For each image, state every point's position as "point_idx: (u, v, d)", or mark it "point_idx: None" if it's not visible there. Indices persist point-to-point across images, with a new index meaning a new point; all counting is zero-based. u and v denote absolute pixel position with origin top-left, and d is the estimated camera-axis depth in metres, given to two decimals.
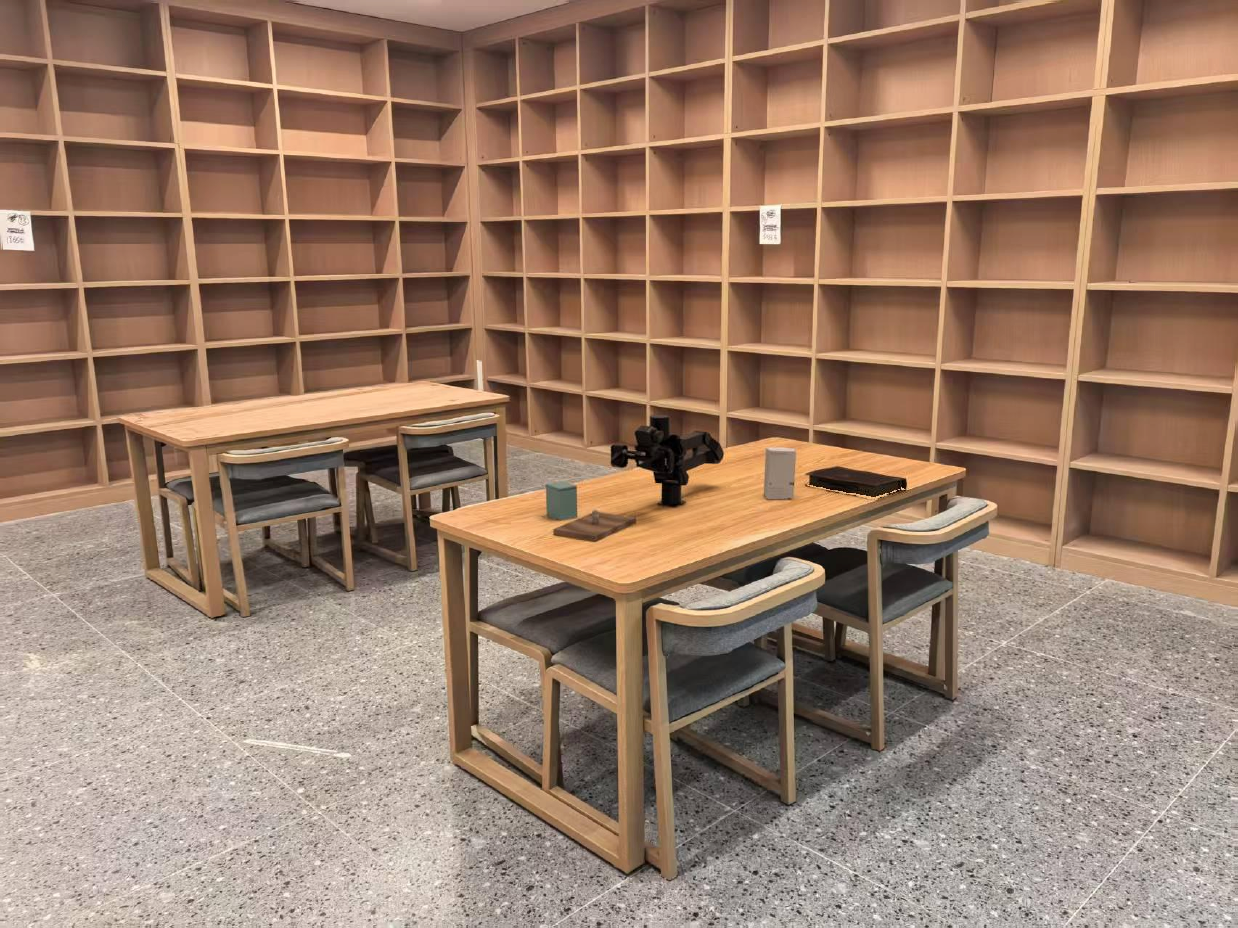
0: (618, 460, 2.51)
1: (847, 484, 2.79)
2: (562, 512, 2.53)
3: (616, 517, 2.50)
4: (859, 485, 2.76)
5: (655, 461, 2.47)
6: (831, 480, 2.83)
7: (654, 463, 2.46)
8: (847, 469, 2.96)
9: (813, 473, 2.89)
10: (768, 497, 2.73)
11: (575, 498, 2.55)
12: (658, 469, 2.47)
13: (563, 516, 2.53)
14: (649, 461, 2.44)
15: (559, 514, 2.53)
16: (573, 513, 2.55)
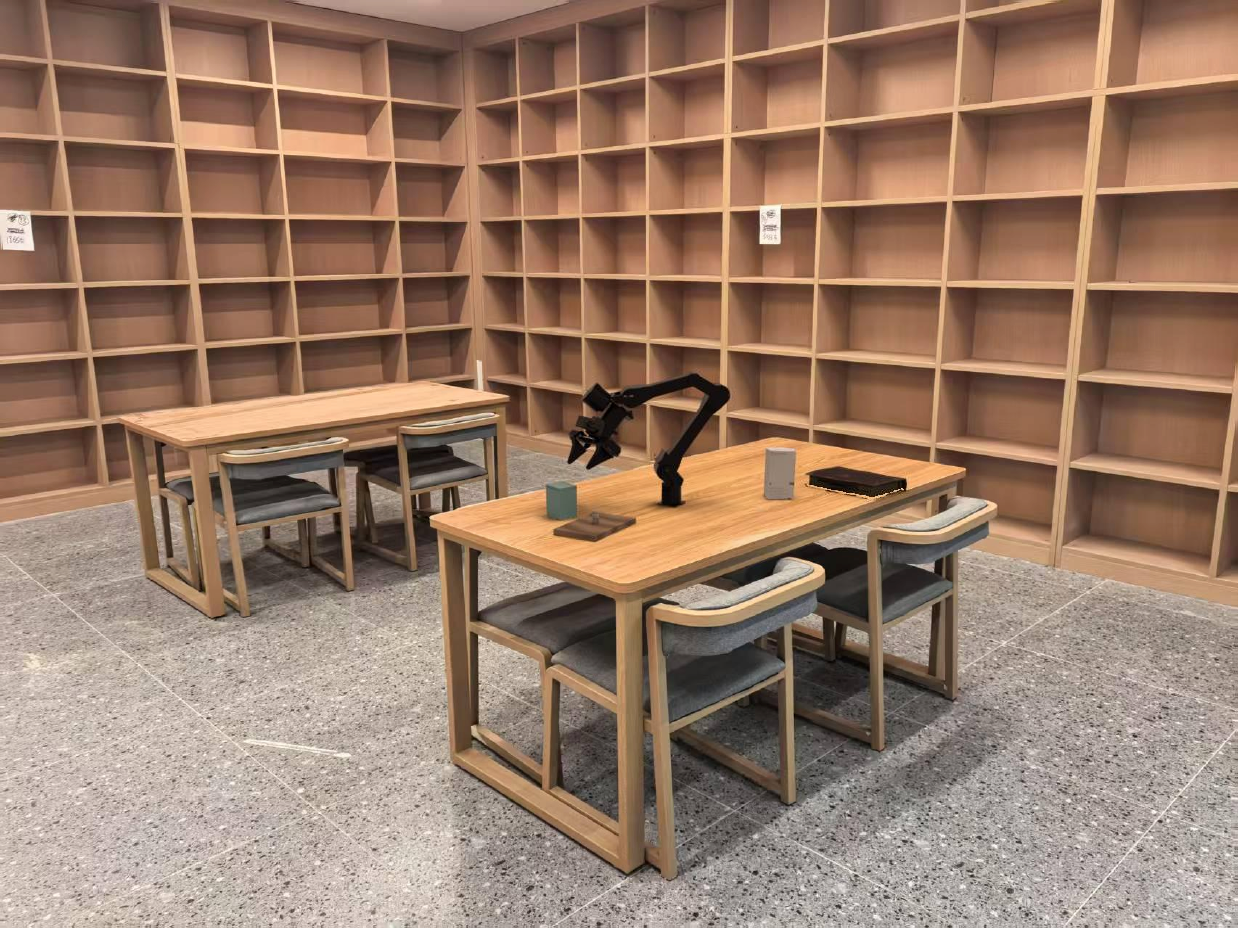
0: (576, 453, 2.62)
1: (846, 484, 2.79)
2: (562, 512, 2.53)
3: (616, 517, 2.50)
4: (858, 485, 2.76)
5: (600, 452, 2.54)
6: (831, 480, 2.84)
7: (600, 455, 2.55)
8: (848, 469, 2.96)
9: (813, 473, 2.89)
10: (768, 497, 2.73)
11: (575, 498, 2.55)
12: (607, 457, 2.55)
13: (563, 516, 2.53)
14: (593, 459, 2.54)
15: (559, 514, 2.53)
16: (573, 513, 2.55)
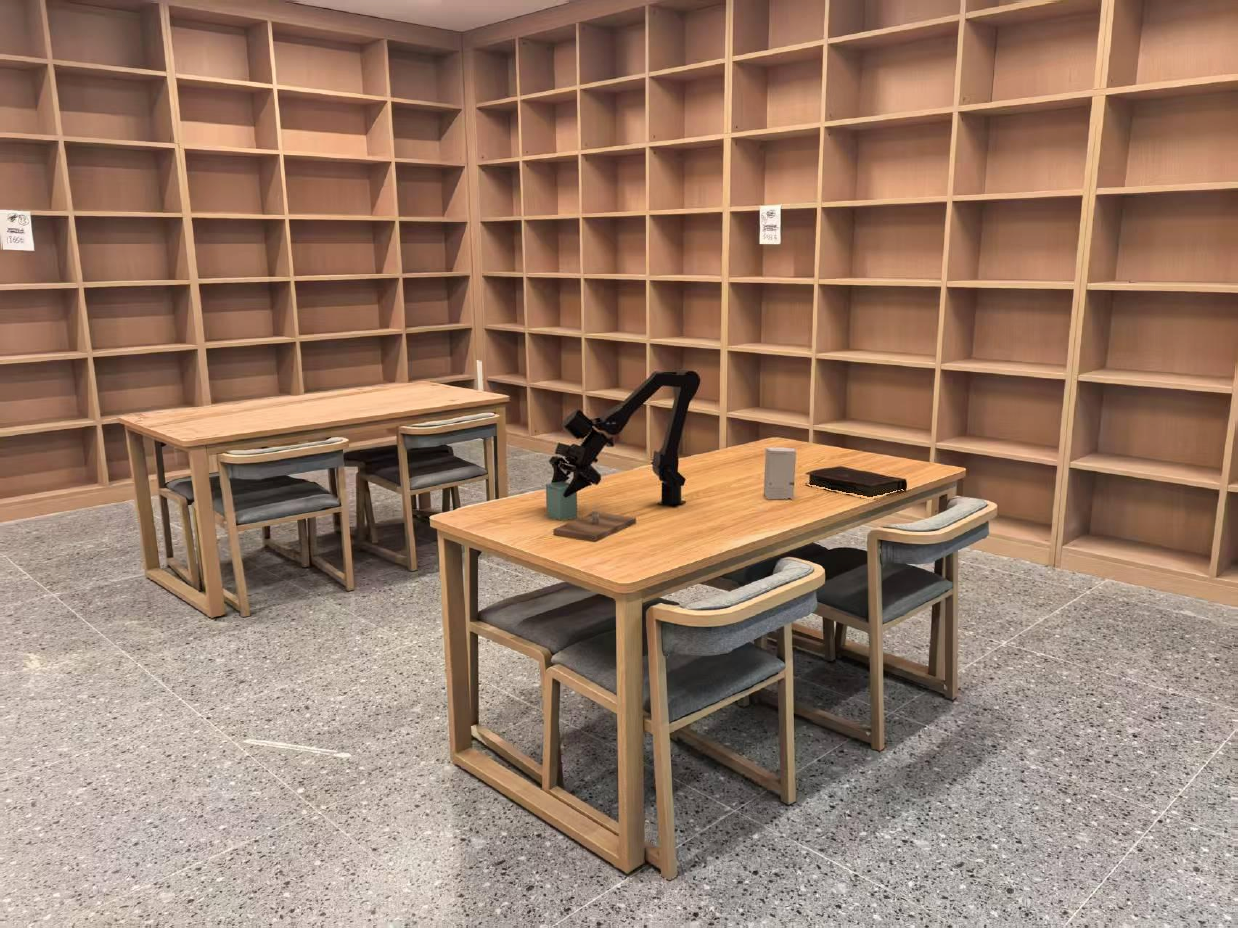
0: (557, 481, 2.59)
1: (845, 484, 2.80)
2: (562, 512, 2.53)
3: (616, 517, 2.50)
4: (856, 485, 2.76)
5: (578, 480, 2.53)
6: (830, 480, 2.84)
7: (578, 482, 2.53)
8: (849, 469, 2.96)
9: (813, 472, 2.90)
10: (768, 497, 2.73)
11: (575, 498, 2.55)
12: (585, 484, 2.53)
13: (563, 516, 2.53)
14: (570, 487, 2.52)
15: (559, 514, 2.53)
16: (573, 513, 2.55)
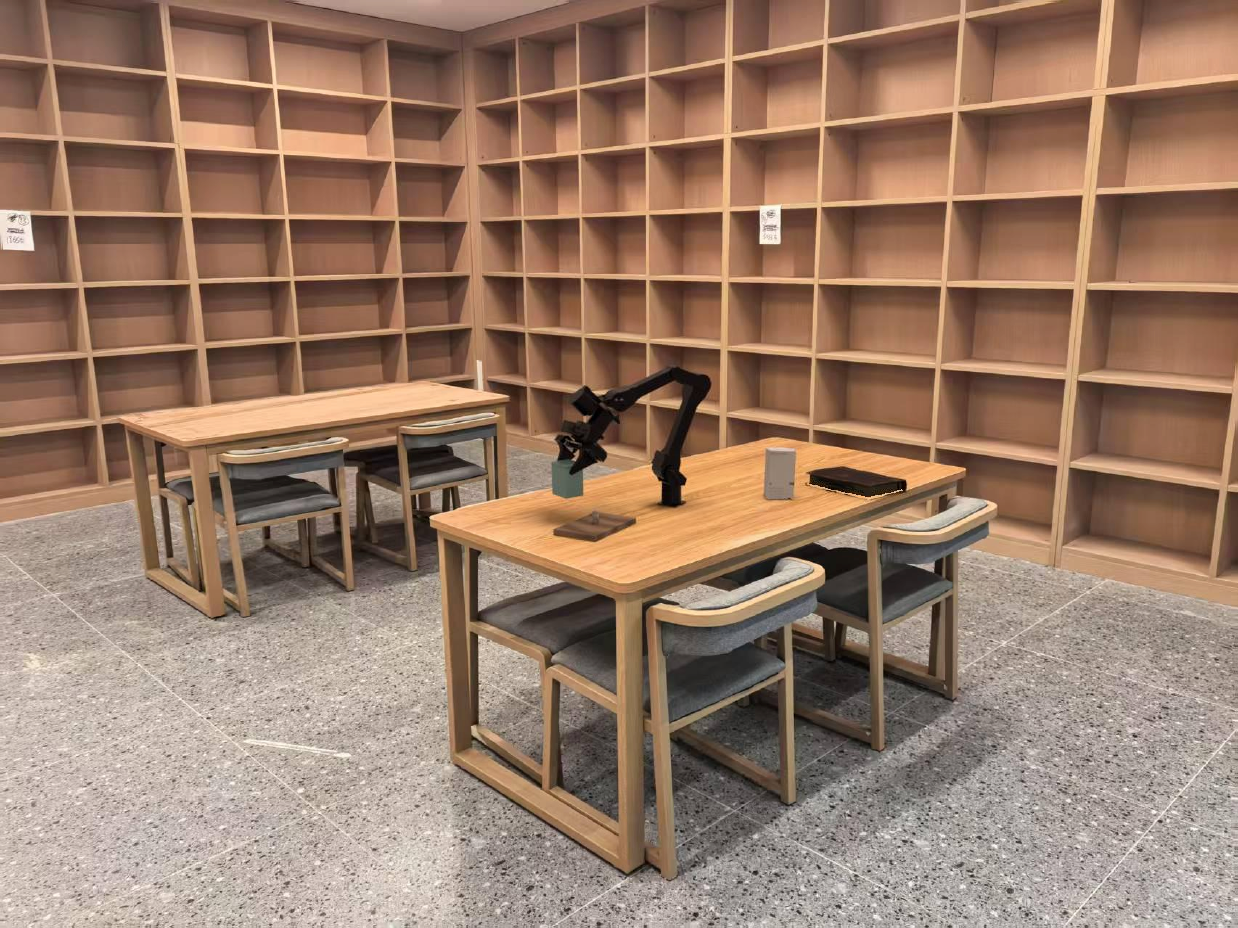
0: (563, 459, 2.55)
1: (844, 484, 2.80)
2: (568, 489, 2.49)
3: (616, 517, 2.50)
4: (855, 485, 2.76)
5: (584, 457, 2.49)
6: (829, 479, 2.84)
7: (584, 460, 2.49)
8: (851, 469, 2.96)
9: (813, 472, 2.90)
10: (768, 497, 2.73)
11: (581, 475, 2.51)
12: (591, 462, 2.50)
13: (569, 494, 2.50)
14: (576, 464, 2.48)
15: (565, 492, 2.49)
16: (579, 491, 2.51)
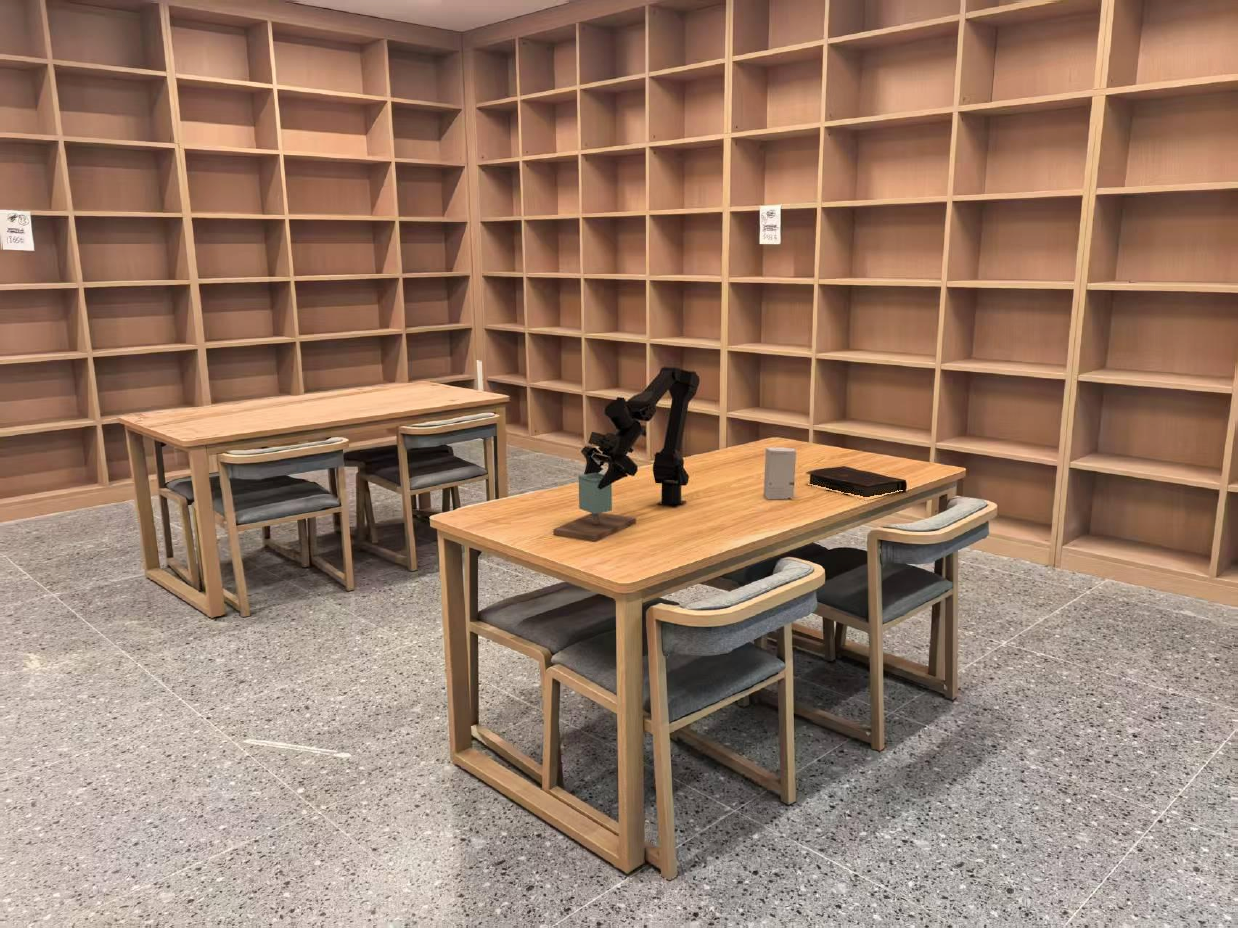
0: (591, 472, 2.45)
1: (843, 484, 2.80)
2: (596, 504, 2.39)
3: (616, 517, 2.50)
4: (853, 485, 2.76)
5: (613, 471, 2.39)
6: (829, 479, 2.85)
7: (613, 473, 2.39)
8: (852, 469, 2.96)
9: (813, 472, 2.91)
10: (768, 497, 2.73)
11: (610, 490, 2.41)
12: (620, 475, 2.40)
13: (597, 509, 2.40)
14: (605, 478, 2.38)
15: (593, 507, 2.39)
16: (608, 506, 2.42)
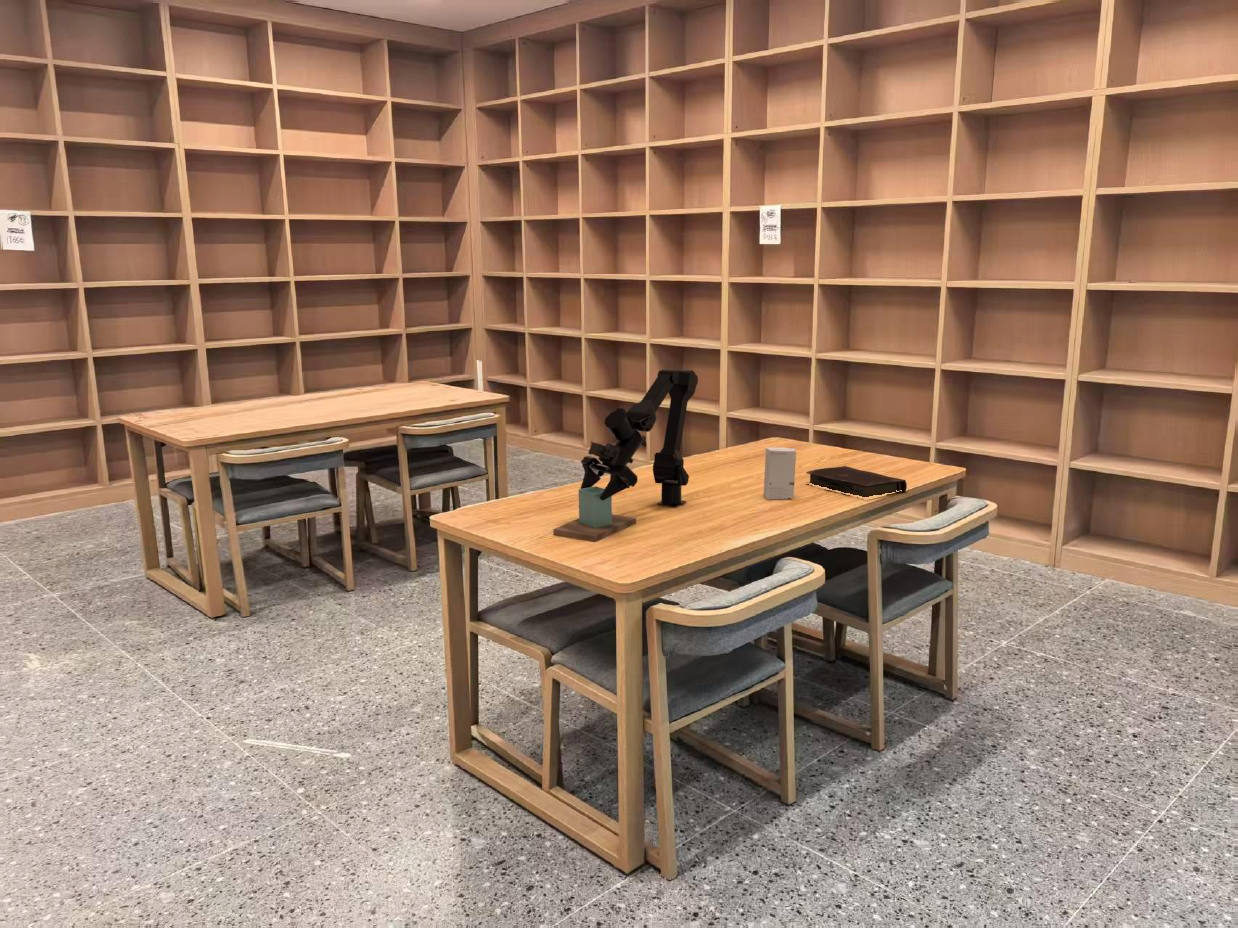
0: (589, 481, 2.47)
1: (842, 483, 2.80)
2: (596, 518, 2.40)
3: (616, 517, 2.50)
4: (853, 485, 2.77)
5: (615, 482, 2.39)
6: (829, 479, 2.85)
7: (615, 485, 2.39)
8: (852, 469, 2.96)
9: (814, 472, 2.91)
10: (768, 497, 2.73)
11: (610, 504, 2.42)
12: (622, 487, 2.39)
13: (597, 523, 2.40)
14: (607, 490, 2.38)
15: (593, 521, 2.40)
16: (608, 520, 2.42)
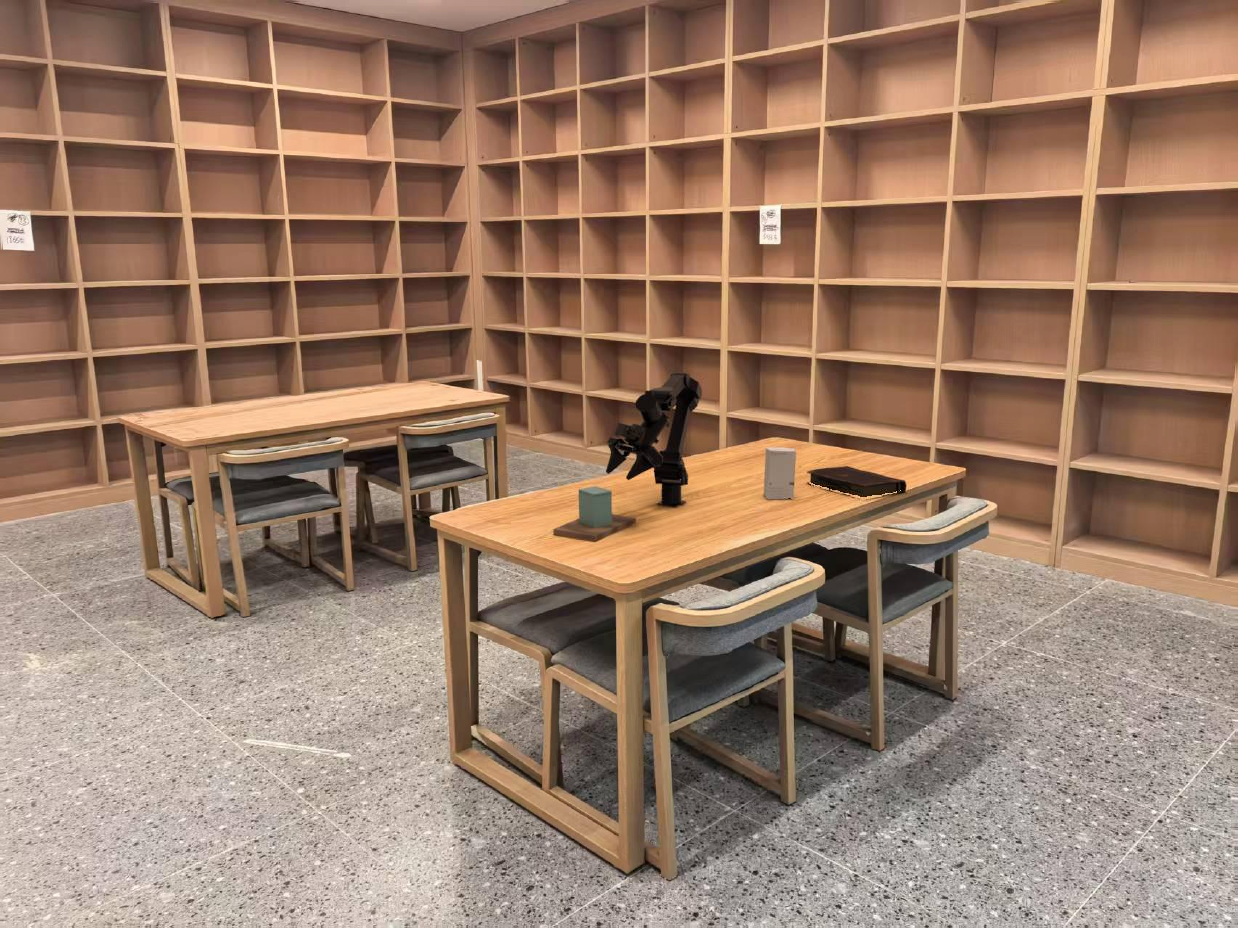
0: (615, 462, 2.51)
1: (841, 483, 2.80)
2: (596, 518, 2.40)
3: (616, 517, 2.50)
4: (851, 485, 2.77)
5: (641, 462, 2.43)
6: (828, 479, 2.85)
7: (641, 464, 2.43)
8: (854, 469, 2.96)
9: (814, 471, 2.91)
10: (768, 497, 2.73)
11: (610, 504, 2.42)
12: (648, 466, 2.44)
13: (597, 523, 2.40)
14: (633, 469, 2.42)
15: (593, 521, 2.40)
16: (608, 520, 2.42)
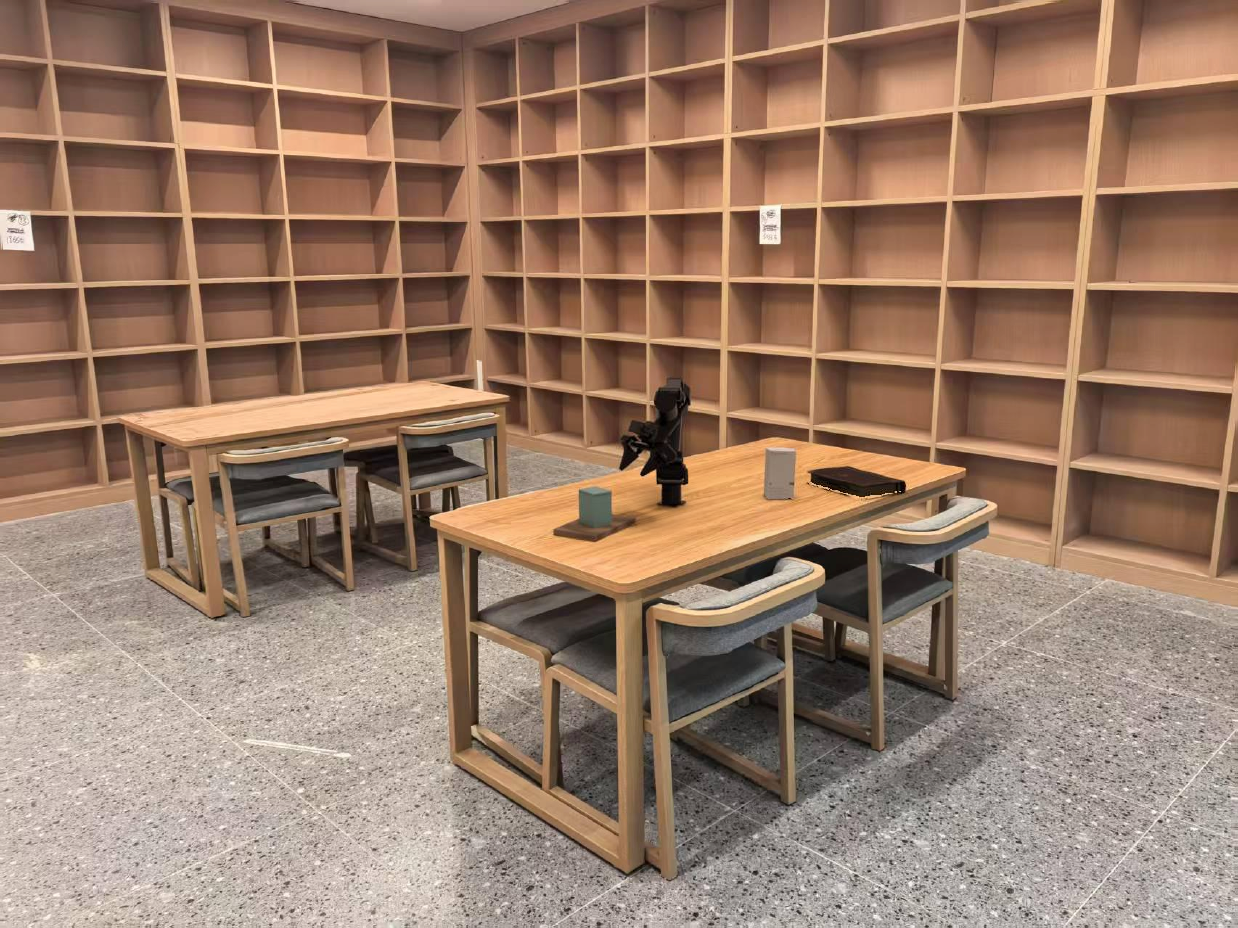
0: (628, 459, 2.53)
1: (840, 483, 2.80)
2: (596, 518, 2.40)
3: (616, 517, 2.50)
4: (850, 485, 2.77)
5: (655, 458, 2.45)
6: (828, 479, 2.85)
7: (655, 461, 2.45)
8: (855, 469, 2.96)
9: (814, 471, 2.92)
10: (768, 497, 2.73)
11: (610, 504, 2.42)
12: (662, 463, 2.46)
13: (597, 523, 2.40)
14: (647, 466, 2.44)
15: (593, 521, 2.40)
16: (608, 520, 2.42)
